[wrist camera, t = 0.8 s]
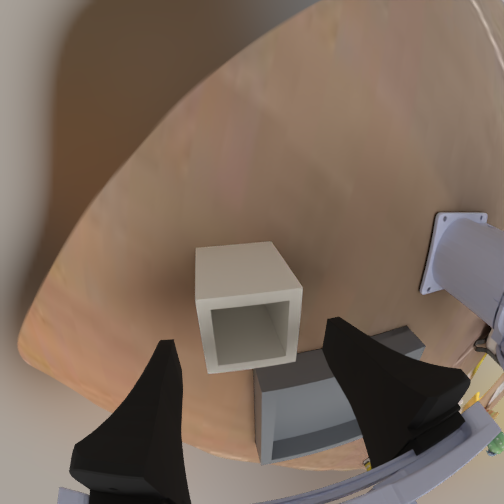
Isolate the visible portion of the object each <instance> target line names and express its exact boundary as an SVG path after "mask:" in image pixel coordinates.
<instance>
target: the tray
mask: <svg viewBox="0 0 504 504" xmlns="http://www.w3.org/2000/svg"><path fill="white" fill-rule="evenodd" d="M371 338H373V339H374V340H376V341H378V342H379V343H381V344H383V345H385V346H387V347H388V348H390V349H392V350H394V351H397V352H399V353H401V354H403V355H406V356H408V357H411V358H413V359H416V360H420V358H421V355H422V353H423V351H424V349H425V347H426V346H425V345H424V344H423V343H422V342H421V340H420V339H419V338H418V337H417V336H416V335H415V334H414V333H413V332H412V331H411V330H410V329H409V328H408V327H407V326H405V327H401V328H398V329H395V330H392V331H388V332H385V333H382V334H378V335H375V336H371ZM253 377H254V411H255V443H256V447H257V451H258V455H259V459H260V463H261V465H266V464H271V463H276V462H281V461H286V460H290V459H295V458H299V457H303V456H307V455H310V454H314V453H318V452H321V451H324V450H328V449H331V448H334V447H337V446H340V445H343V444H346V443H349V442H352V441H355V440H357V439H360V438H363V436H362V433H361V430H360V428H359V425H358V422H357V420H356V417H355V415H354V412H353V410H352V408H351V405H350V403H349V401H348V399H347V398H346V396H345V394H344V392H343V391H342V389H341V387H340V385H339V384H338V382H337V380H336V379H335V377H334V375H333V373H332V371H331V370H330V368H329V366H328V363H327V361H326V359H325V356H324V353H323V351H322V349H318V350H313V351H308V352H303V353H298V354H296V361H295V362H290V363H285V364H279V365H273V366H267V367H261V368H254V369H253Z"/></svg>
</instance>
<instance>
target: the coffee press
mask: <svg viewBox="0 0 504 504" xmlns="http://www.w3.org/2000/svg"><path fill="white" fill-rule="evenodd" d="M493 331H494V329H493V328H492V329H491V331H490V333H489V335H488V337H487V338H485V339H481V340H477V341H476V342H475V347H474V349H475V351H478V352H486V353H487V354H489V355H490V356H491V357H492V358H493V359H494V360H495V361H496V362H497V363H498V364H499V366H500V363H499V361H498V358H497V355H496V345H497V343H496V342H495V341H494V340H493V339H492V338H491V336H492V334H493ZM485 342H486V348H482V347H476V345H477V344H483V343H485ZM501 368H502V367H501Z"/></svg>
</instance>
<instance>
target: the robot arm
mask: <svg viewBox="0 0 504 504" xmlns="http://www.w3.org/2000/svg"><path fill="white" fill-rule="evenodd" d="M486 222H487V213H484V212H439V213H438V214H437V215H436V219H435V225H434V230H433V236H432V241H431V246H430V251H429V255H428V260H427V264H426V268H425V272H424V276H423V280H422V283H421V287H420V293H421V294H422V295H424V294H428V293H432V292H435V291H438V290H442V289H445V290H446V291H447V292H449V293H450V294H451V295H453V296H454V297H455V298H456V299H458V300H459V301H460V302H461V303H463V304H464V305H465V306H466V307H468V308H469V309H470V310H471V311H473V312H474V313H475V314H476V315H477V316H479V317H480V318H481V319H482V320H483V321H484V322H486V323H487V324H488V325H489V326H490V327H491V328H493V329H494V331H493V334H492V336H491V338H492V339H493V340H494V341H495V342H496V343H497V345H496V355H497V358H498V361H499V363H500V366H501V367H502V369H503V370H504V231H502V230H500V229H498V228H496V227H494V226H492V225H490V224H488V223H486ZM322 351H323V353H324V356H325V359H326V361H327V363H328V366H329V368H330V370H331V371H332V373H333V375H334V377H335V379H336V380H337V382H338V384H339V385H340V387H341V389H342V391H343V392H344V394H345V396H346V398H347V399H348V401H349V403H350V405H351V408H352V410H353V412H354V415H355V417H356V420H357V422H358V425H359V428H360V430H361V433H362V436H363V439H364V442H365V445H366V449H367V452H368V456H369V460H370V464H371V468H372V470H369V471H367V472H365V473H362V474H360V475H357V476H355V477H352V478H349V479H347V480H344V481H341V482H339V483H335V484H333V485H330V486H327V487H323V488H320V489H317V490H313V491H310V492H306V493H303V494H299V495H295V496H290V497H286V498H281V499H276V500H271V501H266V502H260V503H254V504H325V503H328V502H331V501H334V500H337V499H340V498H342V497H345V496H348V495H351V494H353V493H356V492H358V491H361V490H363V489H365V488H368V487H370V486H372V485H374V484H376V485H375V486H374V487H373V488H372V489H371V490H370V491H369V492H367V493H366V494H363V495H361V496H358V497H356V498H353V499H351V500H348V501H345V502H342V503H339V504H417V502H416V501H415V500H417V499H418V498H420V497H421V496H423V495H425V494H426V493H428V492H429V491H431V490H432V489H434V488H435V487H436V486H438V485H439V484H441V483H442V482H444V481H445V480H446V479H448V478H449V477H450V476H452V475H453V474H454V473H456V472H457V471H458V470H459V469H461V468H462V467H463V466H464V465H465V464H467V463H468V462H469V461H470V460H472V459H473V458H474V457H475V456H476V455H477V454H478V453H479V452H481V451H482V450H483V449H484V448H485V447H486V446H487V445H488V444H489V443H490V442H491V441H492V440H493V439H494V438H495V437H496V436H497V435H498V434H499V433H500V432H501V429H500V427H499V426H498V425H497V424H496V423H495V421H494V420H493V418H492V417H491V416H490V415H489V413H488V412H487V411H486V410H485V409H484V407H483V406H482V405H481V404H480V402H479V401H477V402H476V403H475V404H473V405H472V406H471V407H469V408H468V409H467V410H466V411H464V412H463V413H462V414H460V413H459V412H458V411H459V410H460V406H459V405H458V402H459V401H460V400H461V398H462V397H463V395H464V394H465V392H466V391H467V389H468V388H469V385H470V381H471V380H470V379H469V378H468V376H467V375H466V374H465V373H464V372H463V371H462V370H461V369H456V368H448V367H442V366H438V365H433V364H429V363H426V362H422V361H419V360H416V359H413V358H411V357H408V356H406V355H403V354H401V353H399V352H397V351H394V350H392V349H390V348H388V347H387V346H385V345H383V344H381V343H379V342H378V341H376V340H374V339H373V338H371V337H369V336H368V335H366V334H365V333H363V332H362V331H360V330H358V329H357V328H355V327H354V326H352V325H351V324H349V323H348V322H346V321H345V320H343V319H342V318H340V317H335V318H330V319H327V325H326V331H325V337H324V343H323V348H322ZM182 398H183V381H182V369H181V365H180V362H179V358H178V354H177V351H176V347H175V343H174V339H172V340H160V341H159V343H158V345H157V347H156V349H155V351H154V353H153V355H152V357H151V359H150V361H149V363H148V365H147V366H146V368H145V370H144V372H143V373H142V375H141V377H140V378H139V380H138V381H137V383H136V384H135V386H134V387H133V389H132V390H131V392H130V393H129V394H128V396H127V397H126V398H125V400H124V401H123V402H122V403H121V405H120V406H119V407H118V408H117V409H116V410H115V411H114V413H113V414H112V415H111V416H110V417H109V418H108V419H107V420H106V421H105V422H103V423H102V424H101V425H100V426H99V427H98V428H97V429H96V430H95V431H93V432H92V433H91V434H89V435H88V436H87V437H85V438H84V439H83V440H81V441H80V442H78V443H77V444H75V446H74V449H73V453H72V458H71V464H70V470H69V472H70V474H71V476H72V477H73V478H74V479H76V480H77V481H78V482H80V483H81V484H83V485H84V486H86V487H87V488H89V489H90V495H88V494H84V493H82V492H78V491H74V490H70V489H67V488H63V487H60V488H59V494H58V503H57V504H191V500H190V496H189V490H188V485H187V479H186V473H185V466H184V458H183V449H182V439H181V420H182ZM379 482H380V483H379ZM377 483H378V484H377Z"/></svg>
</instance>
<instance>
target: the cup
mask: <svg viewBox="0 0 504 504" xmlns="http://www.w3.org/2000/svg"><path fill="white" fill-rule="evenodd" d="M302 293H303V287H302V285H301V284H300V282H299V281H298V280H297V278H296V277H295V275H294V274H293V272H292V271H291V269H290V268H289V266H288V265H287V263H286V262H285V260H284V259H283V258H282V256H281V255H280V253H279V252H278V250H277V249H276V247H275V246H274V245H273V243H272V242H271V241H268V242H256V243H245V244H233V245H222V246H211V247H200V248H196V257H195V302H196V308H197V315H198V321H199V327H200V333H201V339H202V344H203V350H204V355H205V361H206V366H207V371H208V374H213V373H222V372H231V371H239V370H247V369H254V368H261V367H267V366H273V365H279V364H285V363H290V362H295V361H296V354H297V346H298V336H299V327H300V316H301V305H302Z"/></svg>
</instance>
